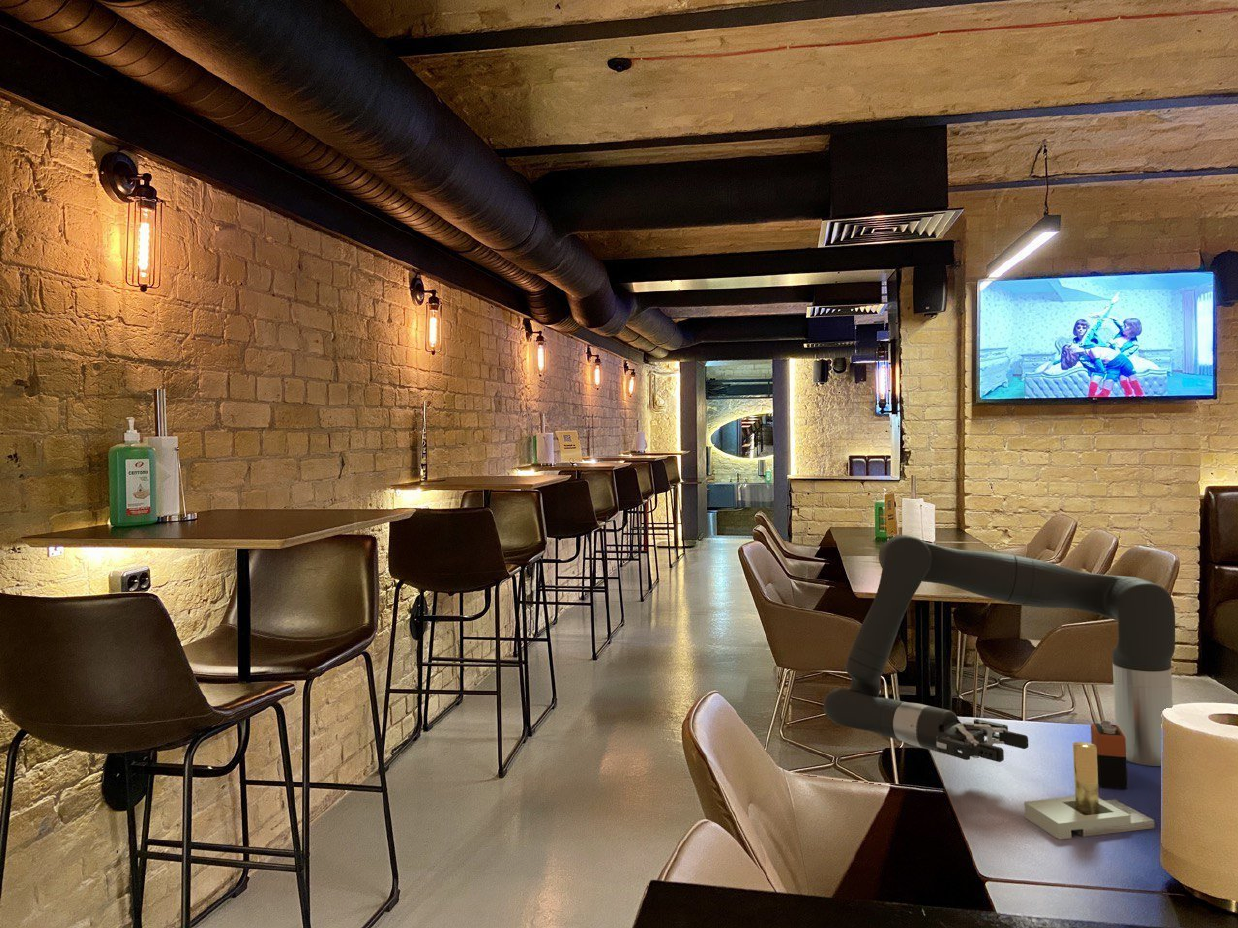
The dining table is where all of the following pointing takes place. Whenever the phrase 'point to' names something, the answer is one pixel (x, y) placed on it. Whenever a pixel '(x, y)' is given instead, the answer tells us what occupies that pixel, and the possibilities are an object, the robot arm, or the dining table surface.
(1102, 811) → the plate with square hole
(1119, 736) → the battery
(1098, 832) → the chain end lower
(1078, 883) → the dining table surface
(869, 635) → the robot arm
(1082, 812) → the pin
